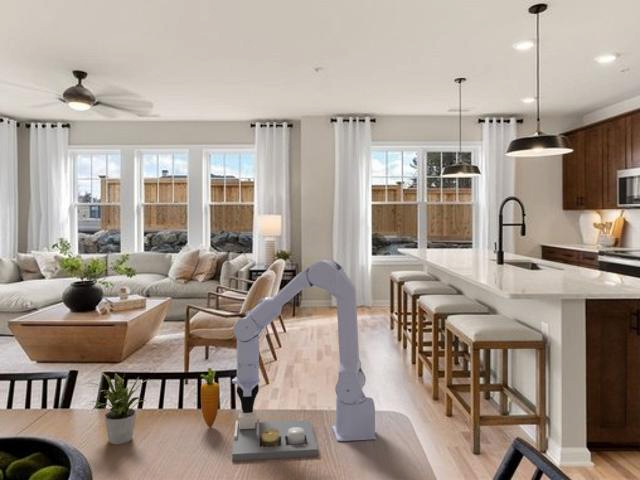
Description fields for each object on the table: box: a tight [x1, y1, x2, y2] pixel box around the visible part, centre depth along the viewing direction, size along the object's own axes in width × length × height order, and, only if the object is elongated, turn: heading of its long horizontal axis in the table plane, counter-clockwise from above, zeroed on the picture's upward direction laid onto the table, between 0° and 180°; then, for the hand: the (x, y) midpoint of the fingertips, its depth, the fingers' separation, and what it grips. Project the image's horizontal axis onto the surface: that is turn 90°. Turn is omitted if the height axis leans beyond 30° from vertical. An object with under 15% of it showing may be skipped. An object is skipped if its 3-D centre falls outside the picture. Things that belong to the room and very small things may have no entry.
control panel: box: [231, 419, 319, 462], centre depth 112 cm, size 19×16×2 cm
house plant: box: [86, 372, 150, 445], centre depth 112 cm, size 14×14×16 cm
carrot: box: [200, 367, 220, 428], centre depth 119 cm, size 5×5×15 cm
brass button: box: [261, 429, 280, 447], centre depth 109 cm, size 4×4×2 cm
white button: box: [287, 427, 306, 446], centre depth 109 cm, size 4×4×2 cm
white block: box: [238, 412, 256, 429], centre depth 116 cm, size 4×2×3 cm, turn 98°
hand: (247, 414), depth 122 cm, fingers closed
